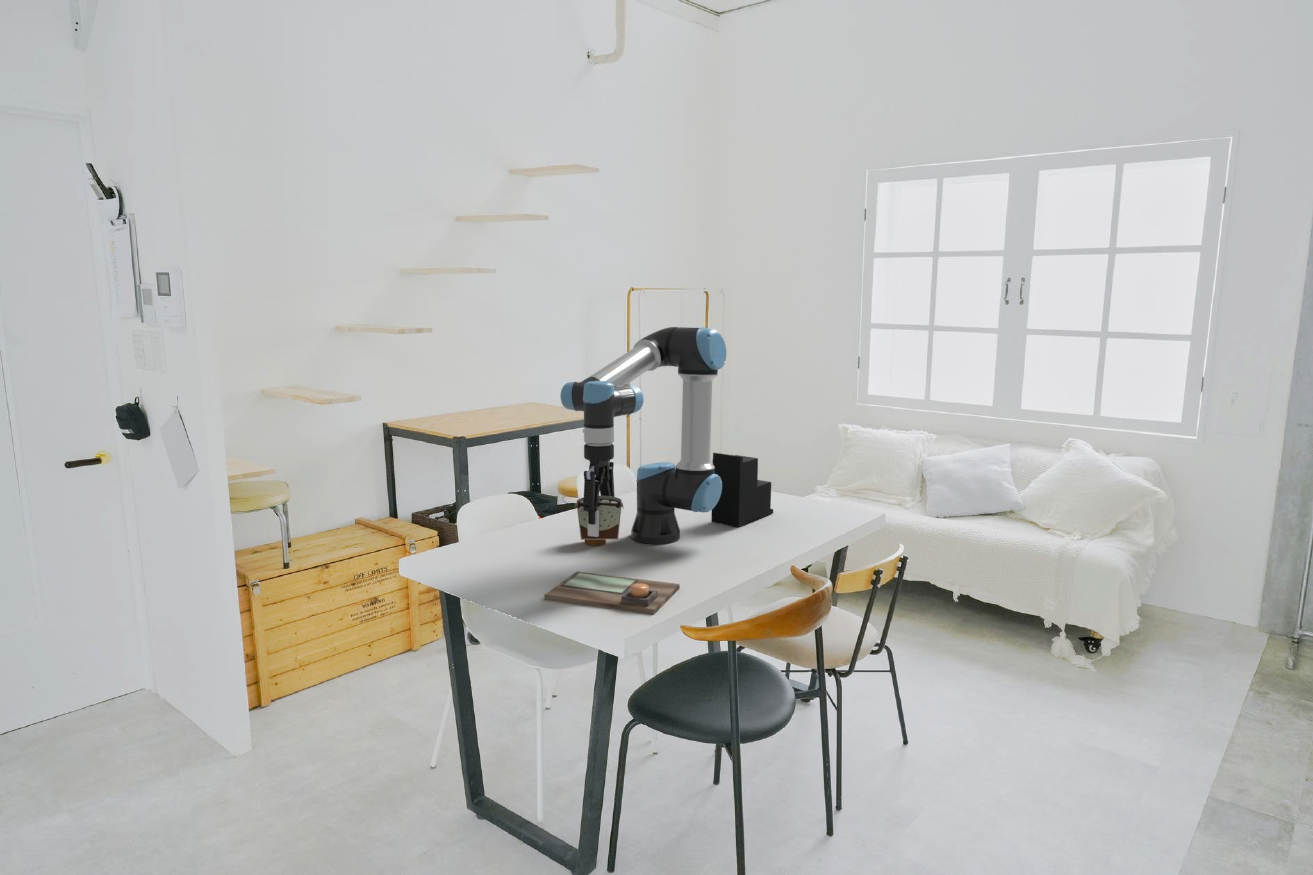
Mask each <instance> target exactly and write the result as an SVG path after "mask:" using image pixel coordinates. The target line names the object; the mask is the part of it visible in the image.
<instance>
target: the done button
mask: <svg viewBox="0 0 1313 875" xmlns="http://www.w3.org/2000/svg"><path fill="white" fill-rule="evenodd" d="M648 595H649V586H648V585H647V584H642V583H637V584H633V585H631V596H633V597H646V596H648Z"/></svg>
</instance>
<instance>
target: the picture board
mask: <svg viewBox="0 0 1313 875" xmlns="http://www.w3.org/2000/svg"><path fill="white" fill-rule="evenodd" d="M637 583H642V584H647V585H648V586H649V595H648V596H646V597H633V596H631V585H633V584H637ZM680 586H681V585H680V583H673V582H666V581H665V582H664V581H656V580H651V579H641V578H634V577H625V576H616V575H610V574H609V575H608V574H601V573H600V574H599V573H594V572H593V573H592V572H584V571H578V570H577V571H575V572H574V573H573V574H571V575H570V576H568V577H567V578H565V579H564V580H562V581H561V582H560V583H559V584H557V585H555V586H554V587H553V588H552V589H550V590H549V591H548V592H546V593H544V600H548V601H554V602H556V601H557V602H563V603H570V604H577V605H578V604H579V605H585V606H593V607H600V608H607V609H615V610H621V611H630V612H636V613H644V614H651V615H655V614H656V613H657V612H658V611H660V609H662V607H664V605H665V604H666V603H667V602H669V600H670V599H671V598H672V597H673V596H674V595H675V594H676V593H677V592H678V591H679V590H680Z"/></svg>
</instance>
